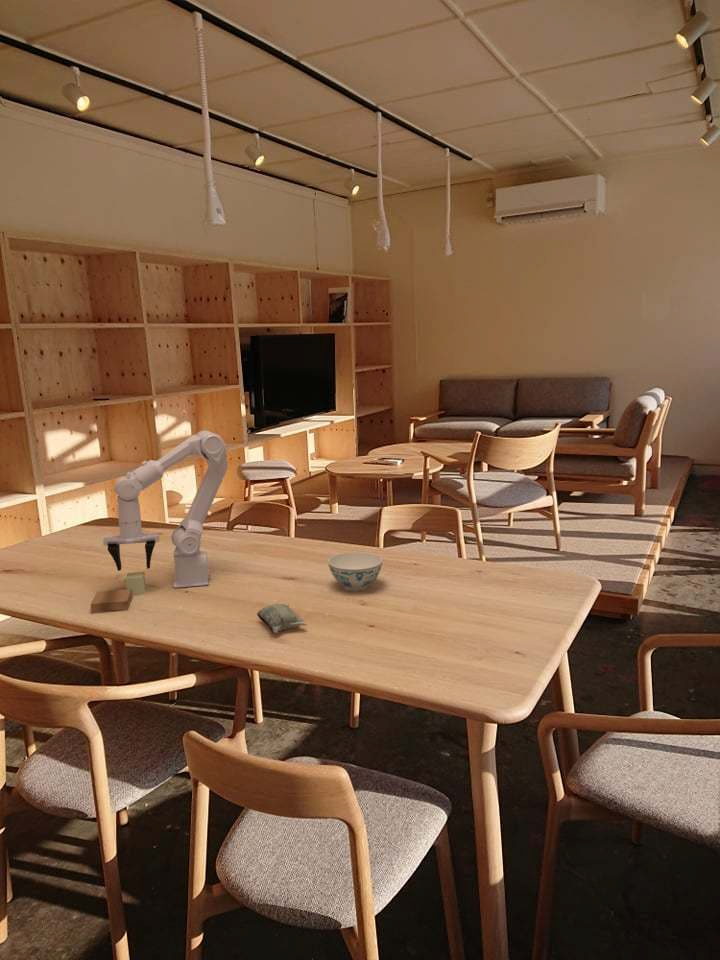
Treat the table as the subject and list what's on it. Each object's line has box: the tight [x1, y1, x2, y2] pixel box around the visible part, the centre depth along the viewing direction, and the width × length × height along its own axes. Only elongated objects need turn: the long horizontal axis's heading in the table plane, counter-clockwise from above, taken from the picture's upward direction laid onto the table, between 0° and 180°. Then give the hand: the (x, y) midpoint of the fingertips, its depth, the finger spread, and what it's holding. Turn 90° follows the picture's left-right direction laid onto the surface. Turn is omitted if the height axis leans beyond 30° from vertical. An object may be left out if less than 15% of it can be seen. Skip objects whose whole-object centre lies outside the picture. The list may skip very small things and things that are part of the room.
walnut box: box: [90, 589, 134, 614], centre depth 184 cm, size 9×9×3 cm
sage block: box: [125, 571, 147, 596], centre depth 193 cm, size 4×4×5 cm
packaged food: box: [256, 602, 308, 634], centre depth 168 cm, size 9×12×5 cm
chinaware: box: [327, 551, 383, 592], centre depth 193 cm, size 15×15×8 cm
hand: (134, 568), depth 192 cm, fingers open, 7 cm apart
